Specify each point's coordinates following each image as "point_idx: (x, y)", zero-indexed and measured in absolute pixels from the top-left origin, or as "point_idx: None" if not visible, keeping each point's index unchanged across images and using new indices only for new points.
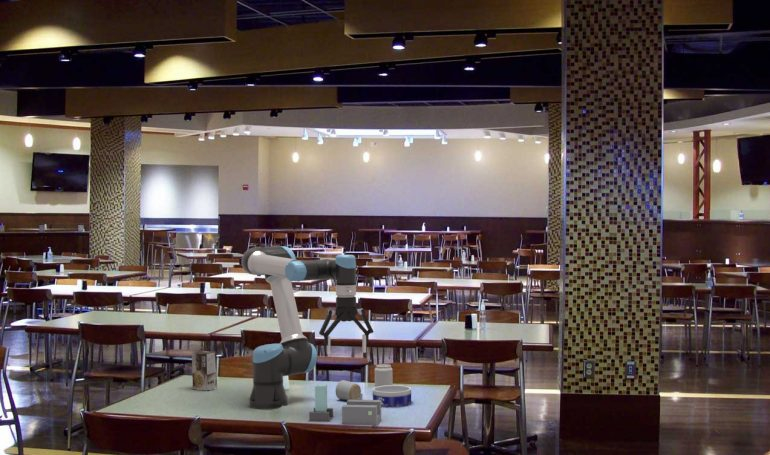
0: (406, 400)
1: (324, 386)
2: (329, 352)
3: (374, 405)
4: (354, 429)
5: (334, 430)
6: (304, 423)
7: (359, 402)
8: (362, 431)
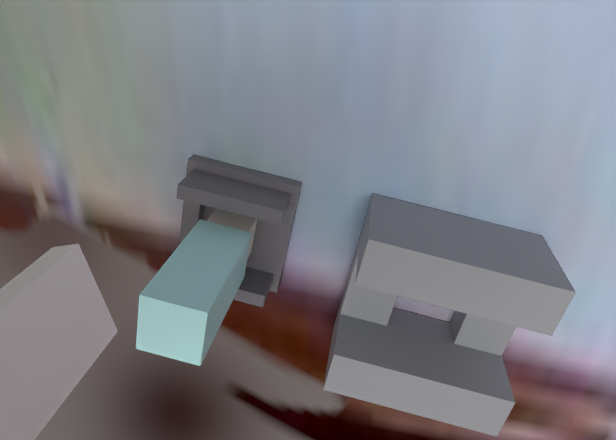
0: None
1: (198, 364)
2: (89, 352)
3: (498, 402)
4: None
5: (301, 371)
6: (166, 244)
7: (429, 301)
8: None
